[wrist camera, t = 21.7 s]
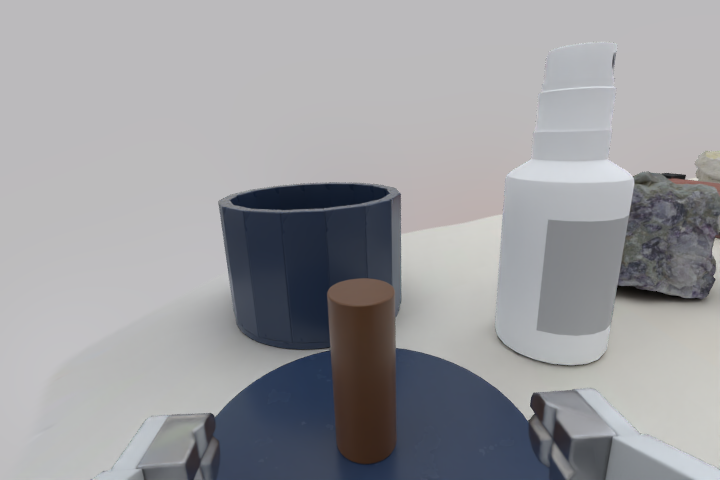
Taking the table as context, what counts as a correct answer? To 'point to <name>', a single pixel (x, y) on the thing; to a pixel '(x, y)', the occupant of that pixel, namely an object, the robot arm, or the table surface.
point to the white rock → (708, 167)
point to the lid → (372, 410)
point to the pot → (306, 254)
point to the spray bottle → (565, 217)
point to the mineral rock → (670, 237)
